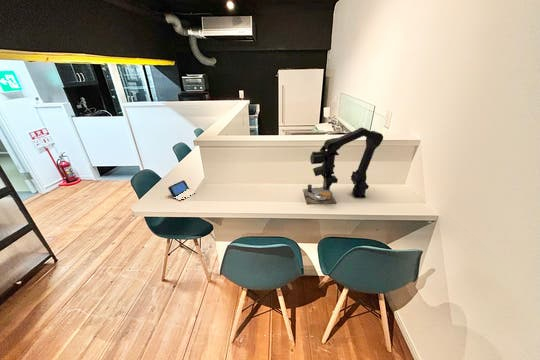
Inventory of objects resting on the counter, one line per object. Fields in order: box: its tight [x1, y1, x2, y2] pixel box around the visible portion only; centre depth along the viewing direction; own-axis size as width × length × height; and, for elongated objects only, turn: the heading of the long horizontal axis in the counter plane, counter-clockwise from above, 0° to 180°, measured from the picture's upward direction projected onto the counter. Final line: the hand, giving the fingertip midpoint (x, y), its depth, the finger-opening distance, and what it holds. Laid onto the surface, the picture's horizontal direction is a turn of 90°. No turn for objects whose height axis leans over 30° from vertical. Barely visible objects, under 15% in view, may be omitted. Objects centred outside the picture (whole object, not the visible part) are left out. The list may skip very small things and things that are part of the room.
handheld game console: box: [168, 179, 190, 200], centre depth 135 cm, size 12×11×7 cm
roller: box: [322, 180, 331, 191], centre depth 125 cm, size 4×4×5 cm
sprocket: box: [306, 183, 333, 201], centre depth 129 cm, size 16×15×6 cm
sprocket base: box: [302, 188, 337, 205], centre depth 131 cm, size 17×17×1 cm
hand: (326, 187), depth 126 cm, fingers closed on roller, 4 cm apart
